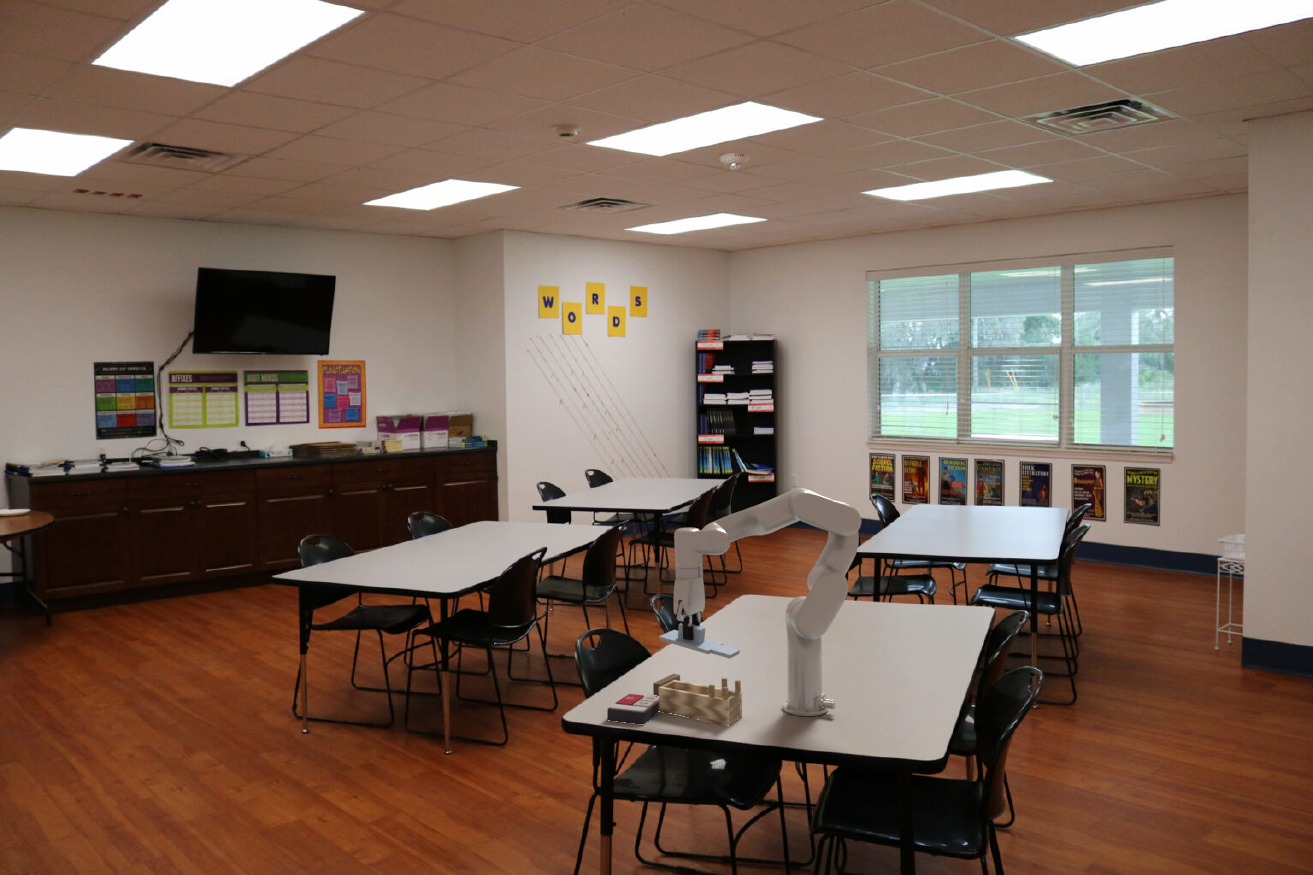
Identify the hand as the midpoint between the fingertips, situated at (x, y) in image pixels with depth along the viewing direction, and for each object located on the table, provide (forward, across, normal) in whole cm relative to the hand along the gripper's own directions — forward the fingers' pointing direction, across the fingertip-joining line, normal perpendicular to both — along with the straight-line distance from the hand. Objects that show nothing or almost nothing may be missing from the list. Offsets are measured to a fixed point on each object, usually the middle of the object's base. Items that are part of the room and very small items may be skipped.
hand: (691, 637), depth 258 cm
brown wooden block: (+21, -12, -17) cm, 30 cm away
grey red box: (+21, +9, -14) cm, 27 cm away
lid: (+2, 0, +3) cm, 3 cm away
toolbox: (+21, +1, +2) cm, 21 cm away
